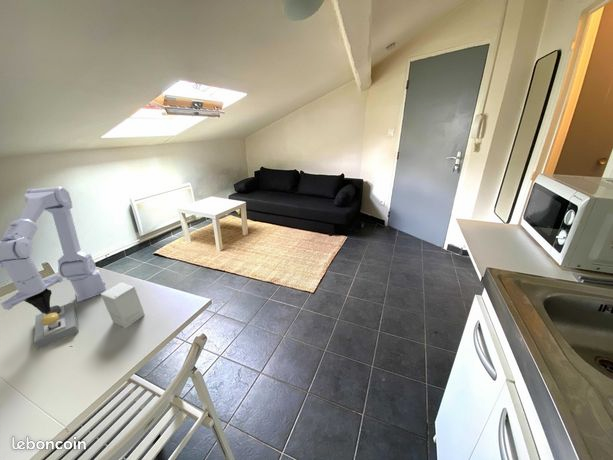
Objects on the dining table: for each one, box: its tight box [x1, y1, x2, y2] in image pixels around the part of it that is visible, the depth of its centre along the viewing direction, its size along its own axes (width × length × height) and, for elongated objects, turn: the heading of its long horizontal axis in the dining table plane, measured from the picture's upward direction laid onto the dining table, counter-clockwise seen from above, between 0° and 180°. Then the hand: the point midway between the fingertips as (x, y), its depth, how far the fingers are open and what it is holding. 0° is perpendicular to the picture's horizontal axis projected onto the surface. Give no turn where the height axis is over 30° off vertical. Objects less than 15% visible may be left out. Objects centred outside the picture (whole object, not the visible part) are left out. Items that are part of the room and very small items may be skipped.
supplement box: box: [100, 281, 146, 329], centre depth 91 cm, size 7×7×13 cm
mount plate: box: [33, 301, 79, 350], centre depth 89 cm, size 10×16×4 cm, turn 42°
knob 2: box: [41, 313, 60, 330], centre depth 85 cm, size 4×4×5 cm
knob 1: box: [46, 305, 61, 315], centre depth 92 cm, size 4×4×5 cm
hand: (46, 311), depth 84 cm, fingers closed
